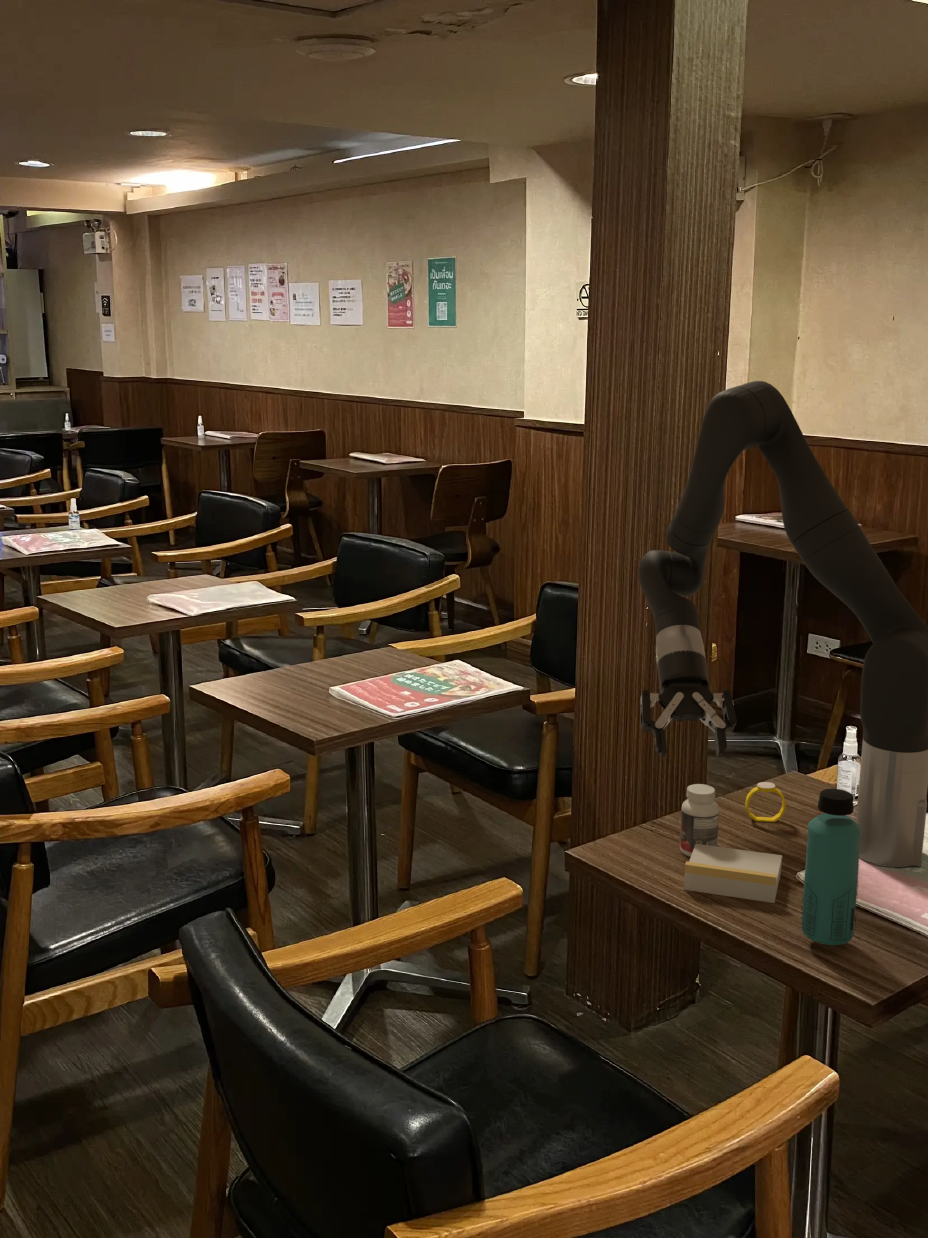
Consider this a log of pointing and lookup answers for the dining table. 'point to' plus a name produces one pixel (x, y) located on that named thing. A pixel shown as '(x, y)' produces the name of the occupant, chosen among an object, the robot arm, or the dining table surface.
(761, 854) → the dock
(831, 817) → the beverage bottle
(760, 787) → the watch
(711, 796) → the pill bottle
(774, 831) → the dining table surface
